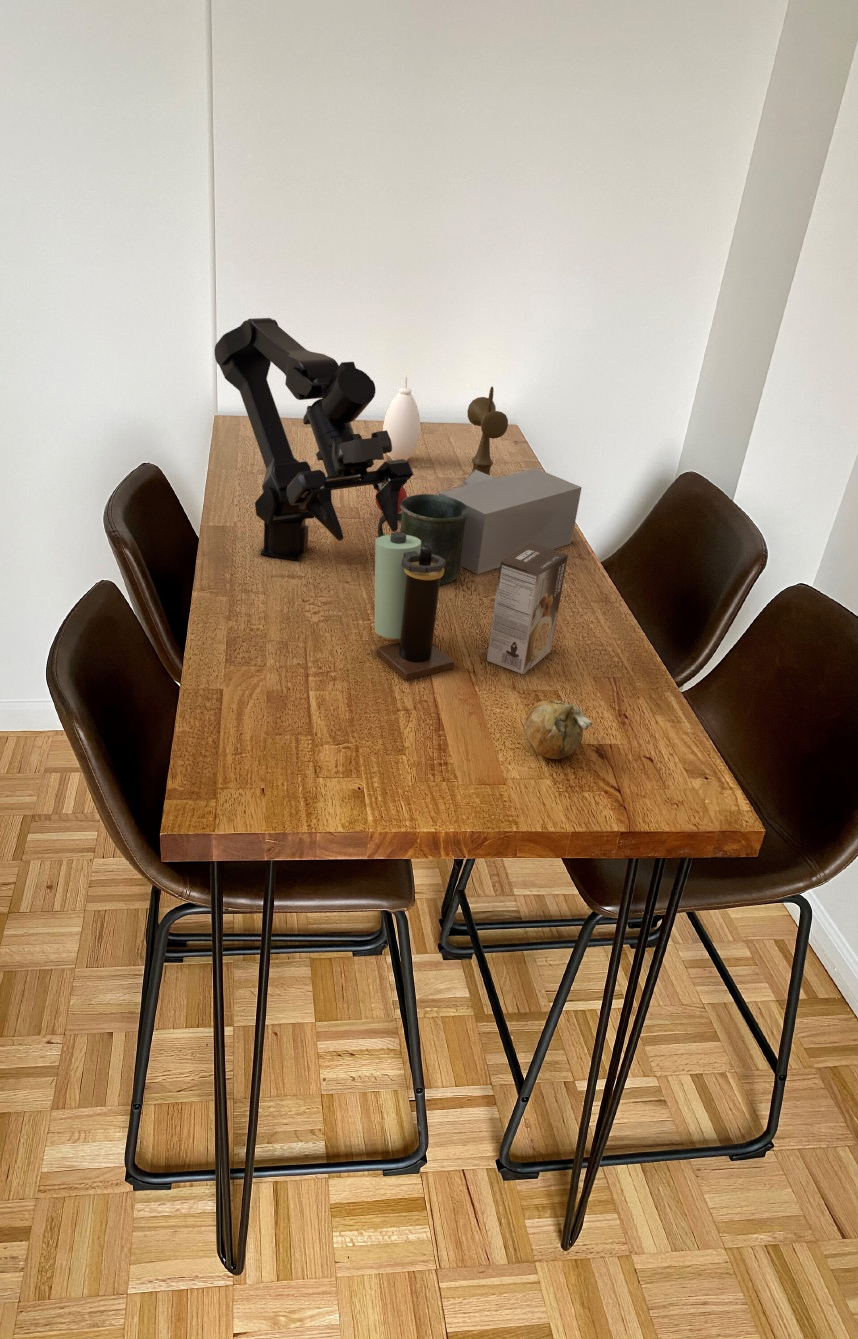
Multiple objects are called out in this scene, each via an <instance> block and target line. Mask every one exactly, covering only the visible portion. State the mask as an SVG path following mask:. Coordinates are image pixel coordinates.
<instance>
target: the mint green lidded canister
mask: <svg viewBox="0 0 858 1339" xmlns="http://www.w3.org/2000/svg"><path fill="white" fill-rule="evenodd" d="M374 542H375V543H374V632H375V634H377V636H379V637H383V638H386V639H391V640H400V637H401V627H402V617H403V607H404V597H405V587H406V577H407V574H406V573H405V571H404V568H405V569H407V570H408V571H411V572H419V573H431V572H437V571H440V570H442V569H443V568H444V566H445V559H443V558H441V557H439V556H438V555H433V554H432V558H431V561H432V562H434V563H436V564H434V565H428V566H423V565H414V564H412V563H410V562H414V561H419V559H420V549H421V540H420V539H418V538H416V537H413V536H409V535H406V534H405V533H402V532H400V531H395V532H392V533H390V534H384V536H381V537H376V539H375V541H374Z"/></svg>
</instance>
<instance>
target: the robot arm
mask: <svg viewBox="0 0 858 1339" xmlns="http://www.w3.org/2000/svg"><path fill="white" fill-rule="evenodd" d="M214 358H215V361H216V363H217V365H218V366H219V368H220V370H221V372H222V375H223V377H224V379H225V380H226V381H227V382H228V383H229V384H230V385H231V386H233V387H234V388H236V390H238V391H239V394H240V397H241V399H242V403H243V405H244V408H245V411H246V414H247V417H248V420H249V422H250V425H251V428H252V431H253V432H252V433H253V434H254V437H255V441H256V443H257V446H258V449H259V451H260V455H261V457H262V461H263V463H264V467H265V474H264V476H263V481H262V487H261V488H262V494H260V495H259V497H258V498H257V499H256V500H255V502H254V508H255V515H256V517H257V518H259V519H260V520H261V521H262V522H263V524H264V525H263V548H262V549H261V550H260V555H261V556H265V557H273V558H277V559H278V558H279V559H285V560H290V561H299V560H300V558H301V557H302V555H303V554H304V553H305V552H306V551H307V549H308V543H309V526H308V525H306V520H308V519H310V520H311V519H316V520H317V521H318V522H320V524H321V525H322V526H323V527H324V528H326V530H327V531H328V532H329V533H330V534H331V535H332V536H333V537H334V538H335V539H336V540H337V541H338V542H342V541H343V540H344V533H343V529H342V527H341V524H340V521H339V517H338V515H337V513H336V510H335V506H334V505H333V500H332V491H335V490H342V489H343V490H344V489H350V488H357V487H358V488H359V487H363V486H372V487H373V490H375V491H376V492H377V491H378V493H377V494H376V493H375V500H376V499H377V501H378V503H379V505H380V507H381V510H382V511H381V510H380V511H381V512H382V514H383V515H384V516H385V519H386V521H385V522H386V523H387V526H388V527H389V528H390V531H392V533H394V532H397V531H398V528H399V520H398V499H399V492H400V489H401V487H402V486H403V487H404V486H405V485H406V483H408V481H409V480H410V479H411V478H412V477H413V476H414V471H413V468H412V465H411V463H410V462H409V461H408V460H404V459H401V460H386V461H384V460H385V456H384V455H385V454H387V453H389V452H391V451H392V443H391V439H390V437H389V434H388V432H387V430H386V431H383V430H379V431H374V432H372V433H371V436H370V437H368V438H363V436H362V435H361V433H355V431H354V429H353V426H352V422H355V420H357V419H358V417H359V416H360V415H361V414H362V413H363V412H364V410H366V408H367V407H368V405H369V404H370V403H371V402H372V401H373V399H374V398H375V396H376V392H377V391H376V384H375V382H374V380H373V379H371V377H370V376H369V375H368V373H366V372H364V371H363V370H361V369H359V368H357V367H356V364H355V362H354V361H342V362H340V364H339V363H338V361H336V359H335V358H333V357H331V356H329V355H326V354H325V353H319V352H313V351H310V350H307V349H306V348H305V347H304V346H302V344H300V343H299V341H297V340H295V338H293V337H292V336H291V335H289V333H288V332H286V331H285V330H284V329H282V327H280V326H279V324H278V321H277V320H276V319H273V318H271V317H256V318H248V319H246V320H244V321H243V322H242V323H241V324H240V326H237V327H236V328H234V329H231V330H230V331H228V332H226V333H224V334H223V335H222V336H221V337H220V338H219V340H218V341H217V343H216V344H215V345H214ZM271 364H273V365H274V366H275V367H277V369H278V370H280V371H281V372H282V373H283V374H284V375H285V382H284V383H285V384H284V385H285V386H286V388H287V389H288V390H289V392H290V393H291V394H292V396H293V398H295V399H296V400H297V401H304V400H315V401H314V402H313V403H312V404H311V405H307V407H306V411H305V413H304V416H303V419H302V423H303V425H304V426H305V425H310V427H311V430H312V433H313V436H314V439H315V442H316V446H317V448H318V451H317V452H316V454H315V456H316V459H317V461H319V462H320V461H322V463H323V466H324V469H325V471H326V472H324V471H323V470H321V469H316V470H315V469H314V470H312V468H311V466H310V464H309V462H308V461H299V460H297V459H296V457H295V456H294V453H293V451H292V448H291V445H290V442H289V440H288V436H287V433H286V431H285V428H284V425H283V421H282V418H281V416H280V413H279V410H278V407H277V404H276V402H275V400H274V396H273V394H272V390H271V387H270V384H269V381H268V375H269V372H270V369H271ZM375 460H377V461H382V460H383V461H384V462H382V464H381V465H380V466H379V467H378V468H377V469H376V470H371V471H368V469H371V468H372V467H373V466H374V464H375V462H374V461H375ZM325 473H326V474H325ZM326 475H327V476H326Z"/></svg>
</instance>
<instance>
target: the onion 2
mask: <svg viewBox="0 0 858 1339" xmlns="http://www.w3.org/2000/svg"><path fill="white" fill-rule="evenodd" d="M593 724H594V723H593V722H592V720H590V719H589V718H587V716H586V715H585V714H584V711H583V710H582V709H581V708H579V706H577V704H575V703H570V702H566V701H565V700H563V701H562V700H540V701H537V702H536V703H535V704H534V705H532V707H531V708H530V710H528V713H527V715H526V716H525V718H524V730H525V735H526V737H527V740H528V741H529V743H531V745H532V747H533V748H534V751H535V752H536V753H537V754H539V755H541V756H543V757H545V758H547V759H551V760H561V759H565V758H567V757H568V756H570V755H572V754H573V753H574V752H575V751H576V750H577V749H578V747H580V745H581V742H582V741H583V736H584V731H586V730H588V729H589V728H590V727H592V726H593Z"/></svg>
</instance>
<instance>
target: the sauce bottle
mask: <svg viewBox="0 0 858 1339" xmlns="http://www.w3.org/2000/svg"><path fill="white" fill-rule="evenodd" d="M407 385H408V376H407V375H405V379H404V384H403V387H400V388H399V389H398V393H396V394H395V396H394V397H393V399H392V400H391V402H390V404H389V406H388V408H387V411H386V413H385V417H384V420H383V426H382V431H386V430H387V432H388V434H389V437H390V439H391V443H392V451H391V452H389V453H386V455H387V456H388V457H390V458H391V461H393V460H401V459H404V460H406V461H408V459H410V458H412V456H413V455H414V454H415V452H416V450H417V448H418V445H419V442H420V437H421V419H420V418H421V417H420V411H419V409H418V405H417V402H416V400H415V397H414V396H413V394H412V389H410V388H408V387H407Z"/></svg>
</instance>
